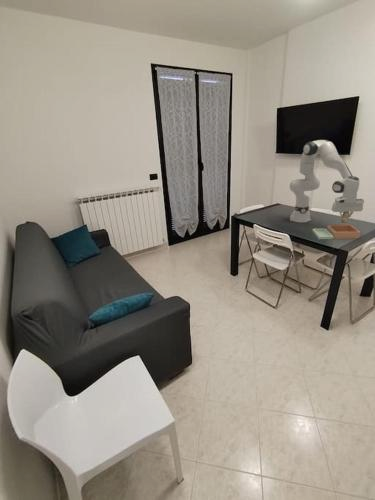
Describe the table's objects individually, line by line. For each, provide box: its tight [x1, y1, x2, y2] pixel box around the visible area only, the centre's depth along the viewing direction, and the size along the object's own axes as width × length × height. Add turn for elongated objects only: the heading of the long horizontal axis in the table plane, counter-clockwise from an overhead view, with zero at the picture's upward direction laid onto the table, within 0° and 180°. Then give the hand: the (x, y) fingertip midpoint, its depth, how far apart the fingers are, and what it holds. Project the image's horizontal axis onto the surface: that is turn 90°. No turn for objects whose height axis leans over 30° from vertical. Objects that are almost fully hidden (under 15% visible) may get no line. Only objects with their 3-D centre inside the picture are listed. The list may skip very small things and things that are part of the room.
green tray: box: [312, 228, 334, 241], centre depth 195 cm, size 18×10×3 cm, turn 170°
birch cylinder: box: [341, 212, 350, 224], centre depth 186 cm, size 4×4×8 cm
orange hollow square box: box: [326, 224, 361, 240], centre depth 191 cm, size 17×17×6 cm
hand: (345, 216), depth 186 cm, fingers closed on birch cylinder, 4 cm apart
